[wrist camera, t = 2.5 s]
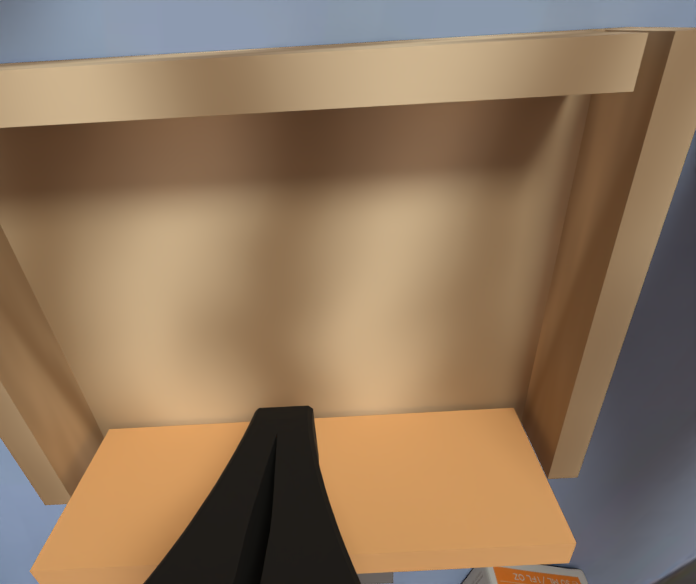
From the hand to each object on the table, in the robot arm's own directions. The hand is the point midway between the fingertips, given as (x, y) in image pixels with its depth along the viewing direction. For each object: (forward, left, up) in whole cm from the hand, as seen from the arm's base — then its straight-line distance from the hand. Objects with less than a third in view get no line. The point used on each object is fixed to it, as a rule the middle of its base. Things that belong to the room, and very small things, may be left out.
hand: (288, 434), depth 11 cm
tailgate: (0, +5, -4) cm, 6 cm away
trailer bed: (0, -2, -5) cm, 5 cm away
